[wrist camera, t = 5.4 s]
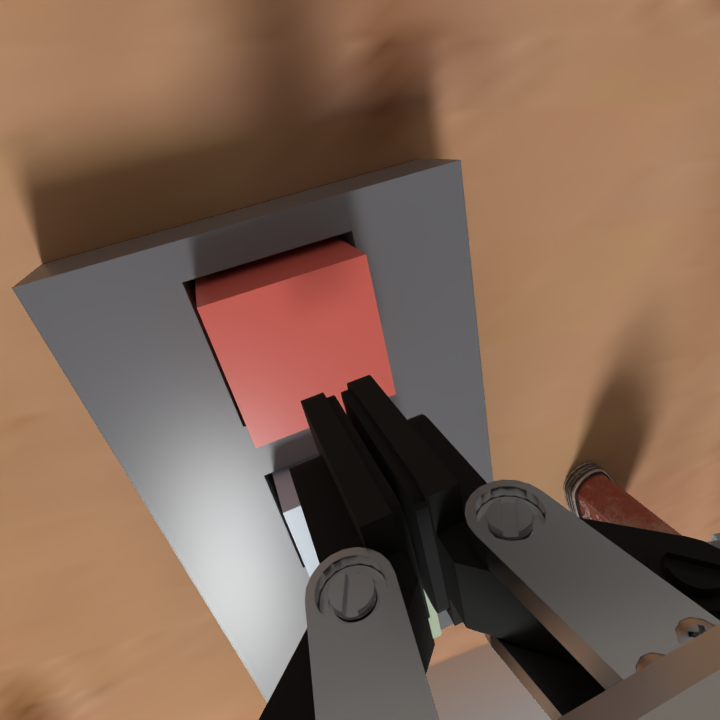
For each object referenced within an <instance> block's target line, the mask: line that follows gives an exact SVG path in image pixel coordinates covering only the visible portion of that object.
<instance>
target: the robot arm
mask: <svg viewBox="0 0 720 720" xmlns="http://www.w3.org/2000/svg"><path fill="white" fill-rule="evenodd" d="M347 388H348V390H345V391H343V392H341V397H342V400H343V404H344V407H345V411H346V413H345V411H344V410H343V408H342V406H341V405H340V403H339V401H338V400H337V398H336V396H335V395H332V396H330V397H326V396H325V394H324V393H323V392H322V393H320V394H317V395H315V396H312V397H309V398H307V399H304V400H302V401H301V404H302V407H303V410H304V413H305V416H306V419H307V422H308V425H309V428H310V430H311V433H312V436H313V439H314V442H315V445H316V448H317V451H318V454H319V456H318V457H315V458H313V459H310V460H308V461H305V462H303V463H300V464H298V465H296V466H293V467H291V468H289V471H290V474H291V477H292V480H293V483H294V486H295V490H296V493H297V496H298V499H299V502H300V505H301V508H302V511H303V514H304V517H305V520H306V523H307V527H308V530H309V533H310V536H311V539H312V542H313V545H314V548H315V551H316V554H317V557H318V560H319V563H320V564H319V565H318V567H317V568H316V569H315V571H314V572H313V573H312V575H311V577H310V579H309V582H308V584H307V587H306V593H305V610H306V621H307V629H306V631H305V633H304V635H303V637H302V639H301V640H300V642H299V644H298V646H297V648H296V650H295V652H294V654H293V656H292V658H291V660H290V661H289V663H288V665H287V667H286V669H285V671H284V673H283V675H282V677H281V679H280V680H279V682H278V684H277V686H276V688H275V690H274V692H273V694H272V696H271V698H270V699H269V701H268V703H267V705H266V707H265V709H264V711H263V713H262V715H261V717H260V718H259V720H439V717H438V714H437V710H436V707H435V704H434V701H433V697H432V694H431V690H430V687H429V684H428V680H427V677H426V672H427V669H428V665H429V662H430V659H431V655H432V652H433V649H434V645H435V643H434V640H433V636H432V632H431V628H430V624H429V620H428V619H429V618H430V614H429V610H428V606H427V602H426V598H425V594H424V591H425V593H426V595H427V597H428V598H429V600H430V602H431V604H432V606H433V608H434V609H435V611H436V612H437V613H440V612H442V611H444V610H446V611H447V613H448V614H449V616H450V618H451V620H452V621H453V623H454V625H455V626H456V625H458V624H460V623H462V622H463V623H464V624H465V626H466V628H469V629H472V630H475V631H478V632H481V633H484V634H485V637H486V638H487V640H488V642H489V643H490V645H491V646H492V648H493V649H494V650H495V651H496V653H497V654H498V655H499V656H500V658H501V659H502V660H503V661H504V662H505V663H506V665H507V666H508V667H509V668H510V670H511V671H512V672H513V673H514V675H515V676H516V677H517V678H518V679H519V681H520V682H521V683H522V684H523V686H524V687H525V688H526V689H527V690H528V692H529V693H530V694H531V695H532V697H533V698H534V699H535V700H536V701H537V703H538V704H539V705H540V706H541V708H542V709H543V710H544V711H545V713H546V714H547V715H548V716H549V717H550V719H551V720H720V533H717V534H713V536H712V541H711V542H704V541H701V540H697V539H694V538H690V537H686V536H680V535H675V534H669V533H664V532H658V531H652V530H647V529H641V528H636V527H630V526H625V525H619V524H613V523H608V522H602V521H597V520H591V519H585V518H580V517H577V516H576V515H574V514H573V513H572V512H570V511H569V510H567V509H566V508H565V507H563V506H562V505H561V504H559V503H558V502H556V501H555V500H554V499H552V498H551V497H550V496H548V495H547V494H545V493H544V492H543V491H541V490H540V489H538V488H536V487H534V486H532V485H531V484H528V483H524V482H521V481H517V480H499V481H493V482H489V483H487V482H486V481H485V480H484V479H483V478H482V477H481V476H480V475H479V474H478V473H477V471H476V470H475V469H474V468H473V467H472V466H471V465H470V464H469V463H468V461H467V460H466V459H465V458H464V457H463V456H462V455H461V454H460V453H459V452H458V450H457V449H456V448H455V447H454V446H453V445H452V444H451V443H450V442H449V441H448V439H447V438H446V437H445V436H444V435H443V434H442V433H441V432H440V431H439V429H438V428H437V427H436V426H435V425H434V424H433V423H432V422H431V421H430V420H429V418H428V417H426V416H425V415H424V414H420V415H417V416H415V417H413V418H410V419H408V420H407V419H406V418H405V416H404V415H403V414H402V413H401V412H400V410H399V409H398V408H397V407H396V406H395V404H394V403H393V402H392V401H391V399H390V398H389V397H388V396H387V395H386V393H385V392H384V391H383V390H382V388H381V387H380V386H379V385H378V384H377V382H376V381H375V380H374V379H373V378H372V376H371V375H367V376H364V377H362V378H359V379H356V380H354V381H351V382H349V383H347ZM423 589H424V590H423Z"/></svg>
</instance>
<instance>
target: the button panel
mask: <svg viewBox="0 0 720 720" xmlns="http://www.w3.org/2000/svg"><path fill="white" fill-rule="evenodd" d="M333 236H336V237H337V238H339V239H341V240H343V241H344V242H346V243H348V244H349V245H351V246H353V247H355V248H356V249H358V250H360V251H361V252H363V253H365V254H366V256H367V261H368V265H369V270H370V275H371V279H372V284H373V289H374V294H375V298H376V303H377V308H378V312H379V317H380V322H381V326H382V331H383V336H384V341H385V345H386V350H387V355H388V359H389V364H390V369H391V373H392V378H393V383H394V387H395V392H396V394H395V395H393V396H390V397H389V398H390V399H391V401H392V402H393V403H394V404H395V406H396V407H397V408H398V409H399V410H400V412H401V413H402V414H403V415H404V416H405V418H406V419H407V420H408V419H410V418H413V417H415V416H417V415H420V414H424V415H425V416H426V417H428V418H429V420H430V421H431V422H432V423H433V424H434V425H435V426H436V427H437V428H438V429H439V431H440V432H441V433H442V434H443V435H444V436H445V437H446V438H447V439H448V441H449V442H450V443H451V444H452V445H453V446H454V447H455V448H456V449H457V450H458V452H459V453H460V454H461V455H462V456H463V457H464V458H465V459H466V460H467V461H468V463H469V464H470V465H471V466H472V467H473V468H474V469H475V470H476V471H477V473H478V474H479V475H480V476H481V477H482V478H483V479H484V480H485V481H486V482H487V483H489V482H493V476H492V467H491V457H490V447H489V437H488V427H487V417H486V407H485V397H484V387H483V378H482V368H481V358H480V348H479V338H478V328H477V318H476V308H475V298H474V289H473V279H472V269H471V259H470V249H469V239H468V229H467V219H466V209H465V200H464V190H463V180H462V170H461V160H449V159H417V160H414V161H410V162H407V163H403V164H399V165H396V166H392V167H389V168H385V169H382V170H378V171H374V172H371V173H367V174H364V175H360V176H356V177H353V178H349V179H346V180H342V181H339V182H335V183H331V184H328V185H324V186H321V187H317V188H313V189H310V190H306V191H303V192H299V193H296V194H292V195H288V196H285V197H281V198H278V199H274V200H271V201H267V202H263V203H260V204H256V205H253V206H249V207H245V208H242V209H238V210H235V211H231V212H228V213H224V214H220V215H217V216H213V217H210V218H206V219H203V220H199V221H195V222H192V223H188V224H185V225H181V226H177V227H174V228H170V229H167V230H163V231H160V232H156V233H152V234H149V235H145V236H142V237H138V238H134V239H131V240H127V241H124V242H120V243H117V244H113V245H109V246H106V247H102V248H99V249H95V250H92V251H88V252H84V253H81V254H77V255H74V256H70V257H66V258H63V259H59V260H56V261H52V262H49V263H45V264H42V265H40V266H39V267H38V268H37V269H35V270H34V271H33V272H31V273H30V274H29V275H28V276H26V277H25V278H24V279H23V280H21V281H20V282H19V283H18V284H16V285H15V286H14V287H12V289H13V291H14V292H15V294H16V295H17V297H18V299H19V300H20V302H21V304H22V305H23V307H24V308H25V310H26V312H27V313H28V315H29V317H30V318H31V320H32V321H33V323H34V325H35V326H36V328H37V330H38V331H39V333H40V334H41V336H42V338H43V339H44V341H45V343H46V344H47V346H48V347H49V349H50V351H51V352H52V354H53V356H54V357H55V359H56V360H57V362H58V364H59V365H60V367H61V368H62V370H63V372H64V373H65V375H66V377H67V378H68V380H69V381H70V383H71V385H72V386H73V388H74V390H75V391H76V393H77V394H78V396H79V398H80V399H81V401H82V403H83V404H84V406H85V407H86V409H87V411H88V412H89V414H90V416H91V417H92V419H93V420H94V422H95V424H96V425H97V427H98V429H99V430H100V432H101V433H102V435H103V437H104V438H105V440H106V442H107V443H108V445H109V446H110V448H111V450H112V451H113V453H114V455H115V456H116V458H117V459H118V461H119V463H120V464H121V466H122V468H123V469H124V471H125V472H126V474H127V476H128V477H129V479H130V480H131V482H132V484H133V485H134V487H135V489H136V490H137V492H138V493H139V495H140V497H141V498H142V500H143V502H144V503H145V505H146V506H147V508H148V510H149V511H150V513H151V515H152V516H153V518H154V519H155V521H156V523H157V524H158V526H159V528H160V529H161V531H162V532H163V534H164V536H165V537H166V539H167V541H168V542H169V544H170V545H171V547H172V549H173V550H174V552H175V554H176V555H177V557H178V558H179V560H180V562H181V563H182V565H183V567H184V568H185V570H186V571H187V573H188V575H189V576H190V578H191V580H192V581H193V583H194V584H195V586H196V588H197V589H198V591H199V593H200V594H201V596H202V597H203V599H204V601H205V602H206V604H207V605H208V607H209V609H210V610H211V612H212V614H213V615H214V617H215V618H216V620H217V622H218V623H219V625H220V627H221V628H222V630H223V631H224V633H225V635H226V636H227V638H228V640H229V641H230V643H231V644H232V646H233V648H234V649H235V651H236V653H237V654H238V656H239V657H240V659H241V661H242V662H243V664H244V666H245V667H246V669H247V670H248V672H249V674H250V675H251V677H252V679H253V680H254V682H255V683H256V685H257V687H258V688H259V690H260V692H261V693H262V695H263V696H264V698H265V700H266V701H267V703H268V701H269V699H270V698H271V696H272V694H273V692H274V690H275V688H276V686H277V684H278V682H279V680H280V679H281V677H282V675H283V673H284V671H285V669H286V667H287V665H288V663H289V661H290V660H291V658H292V656H293V654H294V652H295V650H296V648H297V646H298V644H299V642H300V640H301V639H302V637H303V635H304V633H305V631H306V629H307V621H306V610H305V593H306V587H307V584H308V582H309V579H310V577H309V574H308V572H307V570H306V567H305V565H304V562H303V560H302V558H301V555H300V553H299V551H298V548H297V546H296V543H295V541H294V539H293V536H292V534H291V531H290V529H289V527H288V524H287V522H286V519H285V517H284V515H283V512H282V508H281V504H280V501H279V497H278V493H277V489H276V486H275V484H274V481H273V479H272V476H271V474H270V473H272V472H274V471H277V470H279V469H282V468H284V467H287V466H289V465H292V464H294V463H296V462H299V461H301V460H304V459H306V458H309V457H311V456H314V455H316V454H318V451H317V448H316V445H315V442H314V439H313V436H312V433H311V430H310V428H307V429H305V430H302V431H300V432H297V433H294V434H292V435H289V436H287V437H284V438H282V439H279V440H276V441H274V442H271V443H269V444H266V445H263V446H261V447H258V448H255V445H254V443H253V441H252V438H251V436H250V434H249V431H248V429H247V426H246V424H245V422H244V419H243V417H242V414H241V412H240V410H239V407H238V405H237V403H236V400H235V398H234V395H233V393H232V391H231V388H230V386H229V383H228V381H227V379H226V376H225V374H224V372H223V369H222V367H221V364H220V362H219V360H218V357H217V355H216V352H215V350H214V348H213V345H212V343H211V340H210V338H209V336H208V333H207V331H206V329H205V326H204V324H203V321H202V319H201V317H200V314H199V312H198V309H197V303H196V293H195V290H194V288H193V285H192V283H191V280H192V279H195V278H198V277H202V276H205V275H208V274H212V273H215V272H218V271H221V270H225V269H228V268H231V267H235V266H238V265H241V264H245V263H248V262H251V261H254V260H258V259H261V258H264V257H268V256H271V255H274V254H277V253H281V252H284V251H287V250H291V249H294V248H297V247H300V246H304V245H307V244H310V243H314V242H317V241H320V240H323V239H327V238H330V237H333ZM437 615H438V619H439V624H440V628H441V630H442V629H444V628H446V627H448V626H450V625H452V624H453V621H452V620H451V618H450V616H449V614H448V613H447V611H446V610H444V611H442V612H440V613H437Z"/></svg>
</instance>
